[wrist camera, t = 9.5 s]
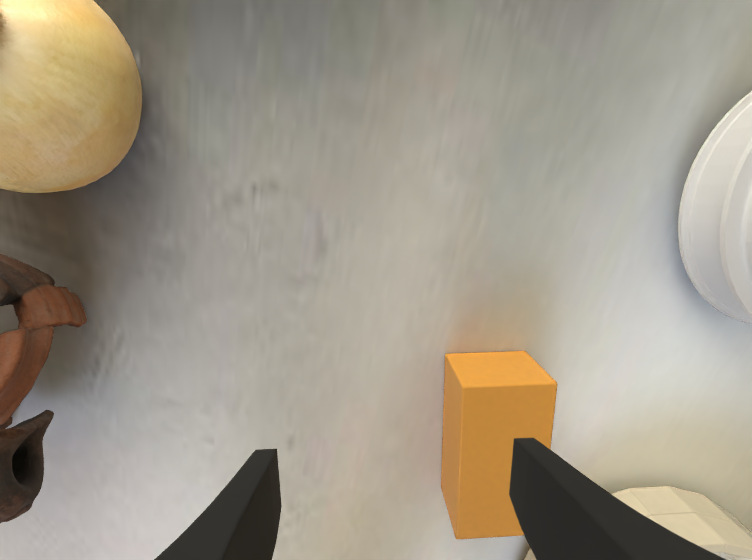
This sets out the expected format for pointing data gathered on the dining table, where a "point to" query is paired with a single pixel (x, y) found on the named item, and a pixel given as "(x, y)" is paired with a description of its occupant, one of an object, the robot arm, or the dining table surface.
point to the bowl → (689, 519)
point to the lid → (721, 215)
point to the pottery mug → (27, 376)
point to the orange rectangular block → (489, 435)
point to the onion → (63, 95)
